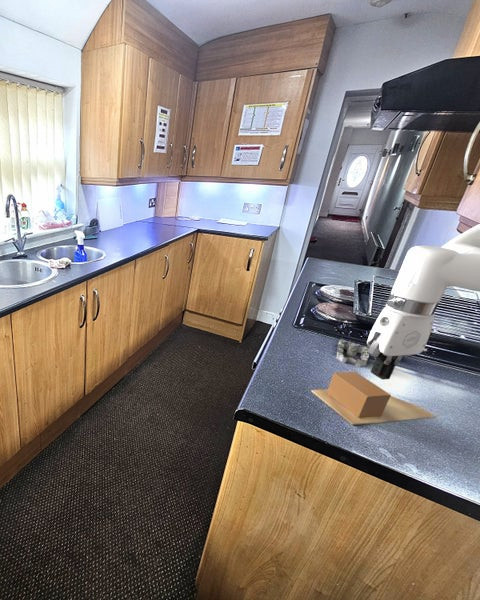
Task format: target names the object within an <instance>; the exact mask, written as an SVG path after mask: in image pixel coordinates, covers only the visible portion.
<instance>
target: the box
mask: <svg viewBox="0 0 480 600" xmlns="http://www.w3.org/2000/svg"><path fill="white" fill-rule="evenodd" d="M327 389H328V390H327V393H328V394H329V395H330V396H331V397H333V398H334V399H335V400H337V402H338V403H340V404H341V405H342V406H344V407H345V408H347V409H348V410H349V411H350V412H352V413H353V414H354V415H356V416H357V417H358V418H361V417H374V416H381V415H382V413H383V411H384V409H385V407H386V405H387V403H388V400H389V398H390V396H392V394H391V393H389V392H387V391H386V390H384V389H382V388H381V387H380V386H378V385H376V384H375V383H374V382H372V381H371V380H369V379H367V378H366V377H364V376H363V375H361V374H359V373H358V372H357V371H347V372H346V371H345V372H333V375H332V378H331V380H330V383H329V385H328V388H327Z"/></svg>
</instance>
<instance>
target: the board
mask: <svg viewBox="0 0 480 600" xmlns="http://www.w3.org/2000/svg"><path fill="white" fill-rule="evenodd" d="M327 390H328V388H324V389H312V390H311V391H310V392H311V393H313V394H314V395H315V396H316V397H317V398H319V399H320V400H321V401H322V402H323V403H325V404H326V405H327V406H329V408H331V409H332V410H333V411H334V412H336V413H337V414H338V415H339V416H341V417H342V419H344V420H345V421H346V422H348V423H349V424H350V425H351V426H359V425H370V424H371V425H372V424H382V423H395V422H402V421H413V420H423V419H429V418H437V417H438V416H437V415H435V414H433V413H432V412H430V411H429V410H427V409H425V408H424V407H422V406H418V405H416V404H413V403H411V402H409V401H406V400H403V399H400V398H398V397H395V396H392V395H391V396H390V398H389V400H388V403H387V405H386V407H385V409H384V411H383V413H382V415H381V416H374V417H361V418H358V417H357V416H356V415H354V414H353V413H352V412H350V411H349V410H348V409H347V408H345V407H344V406H342V405H341V404H340V403H338V402H337V400H335V399H334V398H333V397H331V396H330V395H329V394H328V393H327Z"/></svg>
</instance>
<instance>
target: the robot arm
mask: <svg viewBox="0 0 480 600" xmlns="http://www.w3.org/2000/svg"><path fill="white" fill-rule="evenodd" d="M448 287H455V288H459V289H464V290H469V291H473V292H479V293H480V223H478V224H477V225H475V226H473V227H471V228H468V230H466V231H464V232H462V233H461V234H459V235H457V236H455V237H454V238H453V239H451V240H448V242H446V243H445V244H443V245H442V246H436V245H415V246H412V247H410V248H409V249H408V250H407V252H406V255H405V257H404V259H403V262H402V264H401V267H400V269H399V271H398V274H397V275H396V279H395V281H394V284H393V285H392V288H391V291H390V293H389V296H388V299H387V300H386V304H385V306H384V307H383V309H382V310H381V312H380V313H379V315H378V317H377V318H376V320H375V322H374V323H373V326H372V328H371V330H370V332H369V335H368V338H367V340H366V345H367V346H369V347H370V348H369V349H368V351H367V354H369V356H371V357H373V358H374V359H375V360H374V362H373V364H372V367H371V368H370V373H371V374H372V375H373V376H375V377H377V378H379V379H380V380H390V378H391V377H392V375H393V372H394V370H395V369H396V365H398V364H400V362H401V361H402V359H403V358H404V357H405V356H413V355H420V354H422V353H423V351H424V350H425V348H426V346H427V344H428V340H429V338H430V336H431V333H432V330H433V327H434V322H435V318H436V314H435V312H436V310H437V308H438V306H439V304H440V302H441V300H442V298H443V296H444V294H445V291H446V290H447V288H448Z"/></svg>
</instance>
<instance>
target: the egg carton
mask: <svg viewBox="0 0 480 600" xmlns="http://www.w3.org/2000/svg"><path fill="white" fill-rule="evenodd" d="M344 350H346V353H345V355H347V356H348V357H346V356H345V355H344ZM358 353H359V354H360V356H359V358H357V359H354V358H353V357H356V356H357V354H358ZM335 358H336V360H338V361H340V362H341V363H343V364H344V363H345V364H346V363H351V364H353V365H354V366H355V367H358V368H360V367H366V366H367V363H368V361H369V360H368V359H369V358H370V355H369V354H367V346H364V347H363V346H361V344H360V343H357V344H356V343H355V342H352V341H348V340H345V339H343V338H340V340H339V342H338V343H337V347H336V357H335Z"/></svg>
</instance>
